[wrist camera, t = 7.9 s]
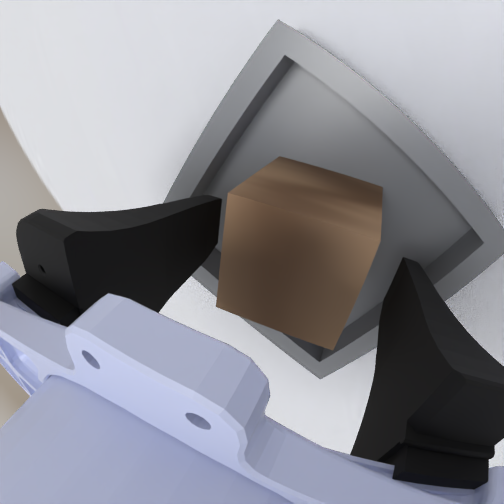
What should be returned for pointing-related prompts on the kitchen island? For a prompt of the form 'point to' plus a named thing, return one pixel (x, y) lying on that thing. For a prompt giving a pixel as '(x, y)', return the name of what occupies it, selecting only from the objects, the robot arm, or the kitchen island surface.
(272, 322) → the walnut block
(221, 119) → the tray
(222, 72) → the kitchen island surface
